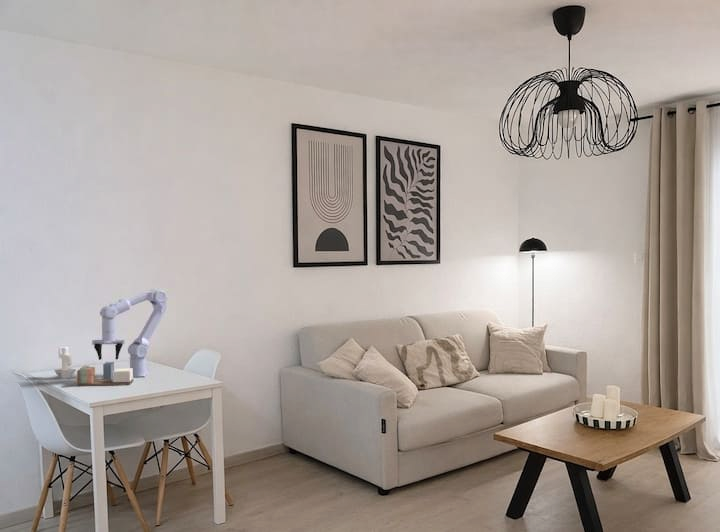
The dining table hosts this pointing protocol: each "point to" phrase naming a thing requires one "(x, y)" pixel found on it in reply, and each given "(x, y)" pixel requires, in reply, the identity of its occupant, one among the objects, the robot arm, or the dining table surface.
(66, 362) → the figurine
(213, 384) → the dining table surface
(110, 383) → the rack
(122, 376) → the bookend
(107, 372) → the tall grey-blue block
